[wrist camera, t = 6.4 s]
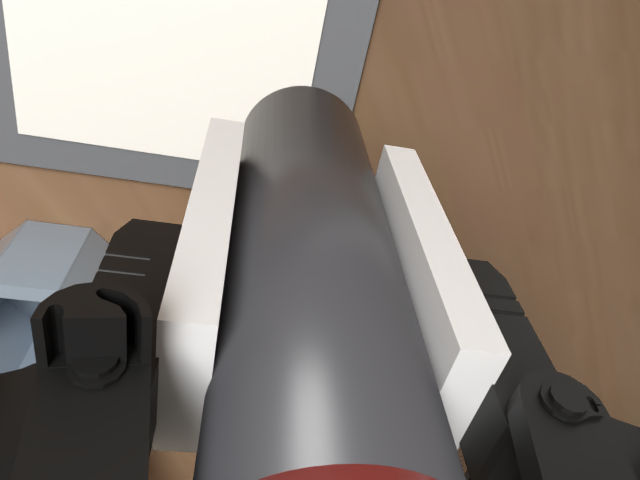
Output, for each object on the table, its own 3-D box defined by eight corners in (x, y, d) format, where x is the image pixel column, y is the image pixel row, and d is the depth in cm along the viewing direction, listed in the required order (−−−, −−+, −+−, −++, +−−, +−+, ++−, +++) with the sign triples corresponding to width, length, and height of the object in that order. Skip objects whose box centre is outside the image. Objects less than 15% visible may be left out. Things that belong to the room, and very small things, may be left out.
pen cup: (135, 233, 34) (111, 296, 29) (135, 337, 39) (113, 406, 34) (-21, 213, 32) (-76, 276, 27) (-2, 324, 37) (-45, 394, 32)
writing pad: (394, -71, 25) (396, -70, 25) (328, 204, 33) (329, 209, 33) (-78, -179, 22) (-86, -180, 21) (-22, 155, 30) (-27, 159, 30)
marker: (375, 100, 15) (722, 949, 3) (343, 205, 17) (489, 980, 5) (251, 73, 14) (129, 1009, 3) (232, 185, 16) (111, 1021, 4)
